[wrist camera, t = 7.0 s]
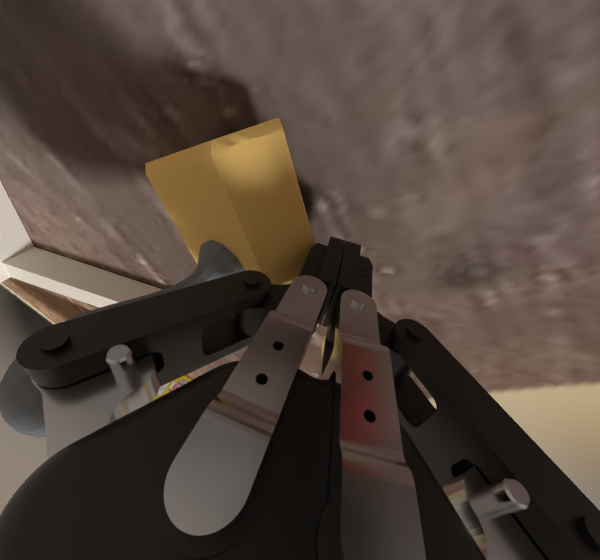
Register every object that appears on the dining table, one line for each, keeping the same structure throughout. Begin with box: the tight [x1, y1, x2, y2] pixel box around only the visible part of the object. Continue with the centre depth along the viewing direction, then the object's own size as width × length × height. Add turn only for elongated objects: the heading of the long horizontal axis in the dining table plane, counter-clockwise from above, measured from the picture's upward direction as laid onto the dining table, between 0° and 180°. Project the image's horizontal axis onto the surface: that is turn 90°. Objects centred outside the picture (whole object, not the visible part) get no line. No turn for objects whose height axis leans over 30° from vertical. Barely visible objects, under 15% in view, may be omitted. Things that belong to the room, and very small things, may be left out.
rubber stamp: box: [0, 118, 319, 437], centre depth 11 cm, size 10×6×12 cm, turn 17°
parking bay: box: [0, 181, 163, 308], centre depth 13 cm, size 23×18×6 cm
